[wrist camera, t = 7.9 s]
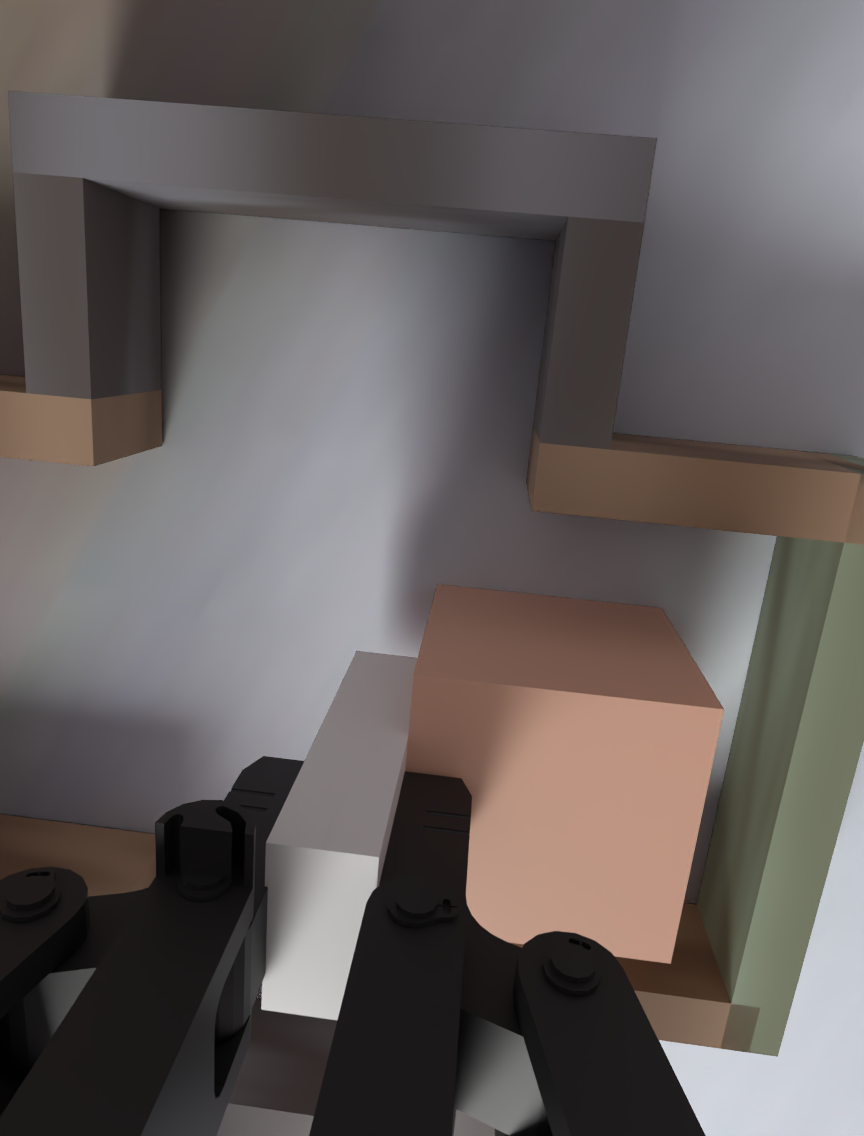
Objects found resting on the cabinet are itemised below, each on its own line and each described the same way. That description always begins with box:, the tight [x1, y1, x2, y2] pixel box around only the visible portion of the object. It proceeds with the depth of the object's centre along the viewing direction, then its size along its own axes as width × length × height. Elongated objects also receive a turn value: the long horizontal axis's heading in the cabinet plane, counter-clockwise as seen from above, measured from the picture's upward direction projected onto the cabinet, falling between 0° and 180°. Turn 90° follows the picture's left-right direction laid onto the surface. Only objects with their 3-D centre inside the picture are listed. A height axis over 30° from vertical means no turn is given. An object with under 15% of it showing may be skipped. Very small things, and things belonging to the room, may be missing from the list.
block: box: [405, 584, 724, 964], centre depth 16 cm, size 5×5×5 cm
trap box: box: [0, 91, 864, 1136], centre depth 17 cm, size 23×22×3 cm
